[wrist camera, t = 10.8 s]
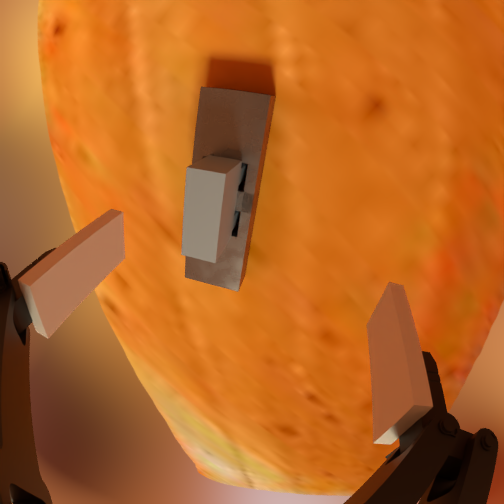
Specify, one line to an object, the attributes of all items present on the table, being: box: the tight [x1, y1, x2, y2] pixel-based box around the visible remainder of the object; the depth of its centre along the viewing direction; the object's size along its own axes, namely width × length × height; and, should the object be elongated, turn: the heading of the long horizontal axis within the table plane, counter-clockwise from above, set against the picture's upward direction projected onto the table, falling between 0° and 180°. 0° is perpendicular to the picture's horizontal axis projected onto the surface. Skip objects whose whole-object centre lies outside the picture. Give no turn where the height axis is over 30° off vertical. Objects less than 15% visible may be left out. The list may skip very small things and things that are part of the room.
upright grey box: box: [182, 155, 247, 263], centre depth 35 cm, size 10×4×10 cm, turn 171°
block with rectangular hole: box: [185, 87, 276, 291], centre depth 38 cm, size 26×8×4 cm, turn 171°
